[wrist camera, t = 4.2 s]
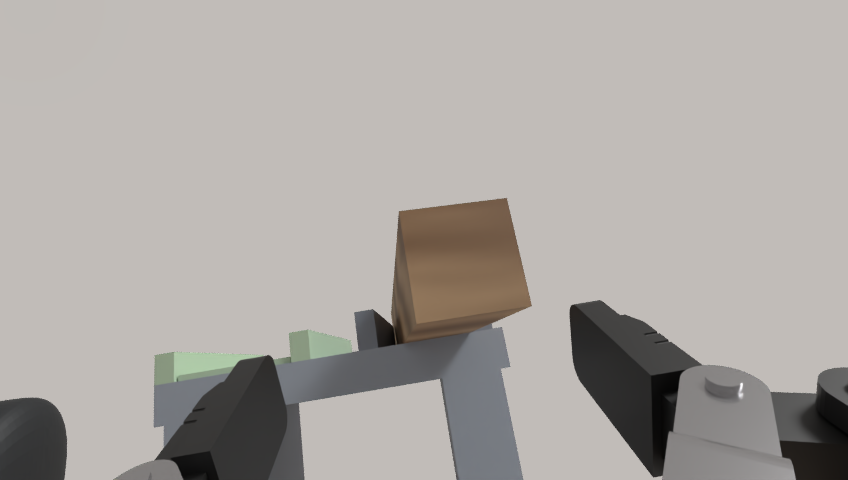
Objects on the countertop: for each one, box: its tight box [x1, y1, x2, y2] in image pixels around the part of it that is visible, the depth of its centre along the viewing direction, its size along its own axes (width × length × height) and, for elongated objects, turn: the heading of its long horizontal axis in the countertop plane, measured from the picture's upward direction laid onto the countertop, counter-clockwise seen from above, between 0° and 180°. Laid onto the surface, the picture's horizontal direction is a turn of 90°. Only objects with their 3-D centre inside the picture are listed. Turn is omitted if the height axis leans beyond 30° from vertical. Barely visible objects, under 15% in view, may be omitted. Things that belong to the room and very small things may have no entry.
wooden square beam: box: [391, 198, 532, 345], centre depth 25 cm, size 26×4×4 cm, turn 5°
